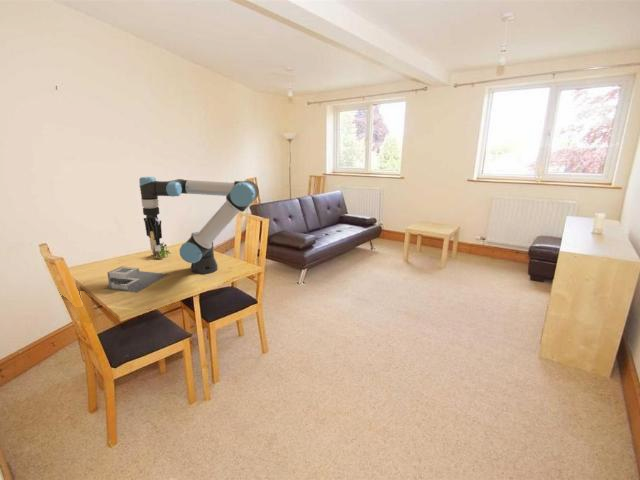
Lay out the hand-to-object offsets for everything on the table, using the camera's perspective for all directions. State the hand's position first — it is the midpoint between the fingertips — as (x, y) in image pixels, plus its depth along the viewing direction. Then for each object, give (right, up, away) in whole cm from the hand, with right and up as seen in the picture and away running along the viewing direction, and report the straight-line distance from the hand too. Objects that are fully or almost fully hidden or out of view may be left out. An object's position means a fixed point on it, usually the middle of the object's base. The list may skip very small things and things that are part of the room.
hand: (155, 249), depth 168 cm
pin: (0, -2, +1) cm, 3 cm away
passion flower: (-16, -6, +38) cm, 42 cm away
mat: (-8, -17, -2) cm, 19 cm away
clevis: (-10, -18, -9) cm, 23 cm away
